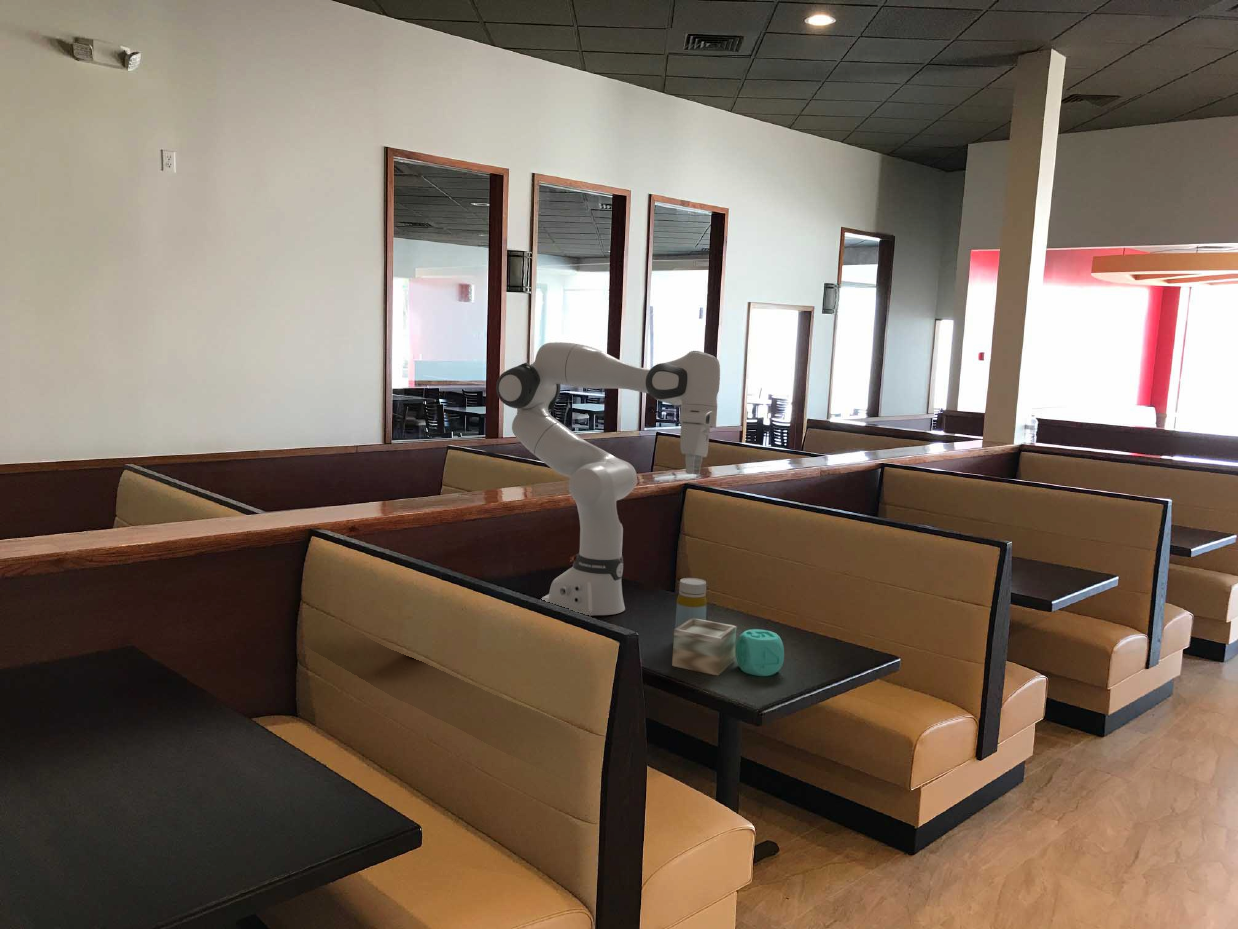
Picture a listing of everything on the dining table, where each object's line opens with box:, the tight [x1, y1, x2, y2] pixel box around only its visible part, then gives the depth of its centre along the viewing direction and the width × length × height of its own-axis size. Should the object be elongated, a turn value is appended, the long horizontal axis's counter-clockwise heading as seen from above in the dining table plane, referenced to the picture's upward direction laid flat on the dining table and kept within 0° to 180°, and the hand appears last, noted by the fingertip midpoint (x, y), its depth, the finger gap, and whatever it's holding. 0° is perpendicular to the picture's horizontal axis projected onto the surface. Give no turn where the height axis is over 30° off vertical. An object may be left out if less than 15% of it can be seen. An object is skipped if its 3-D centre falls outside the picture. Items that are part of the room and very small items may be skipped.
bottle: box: [674, 577, 708, 629], centre depth 217 cm, size 7×7×15 cm
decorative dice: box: [735, 628, 785, 677], centre depth 202 cm, size 8×8×8 cm
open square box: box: [671, 618, 738, 676], centre depth 204 cm, size 11×11×8 cm
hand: (692, 474), depth 227 cm, fingers open, 8 cm apart
